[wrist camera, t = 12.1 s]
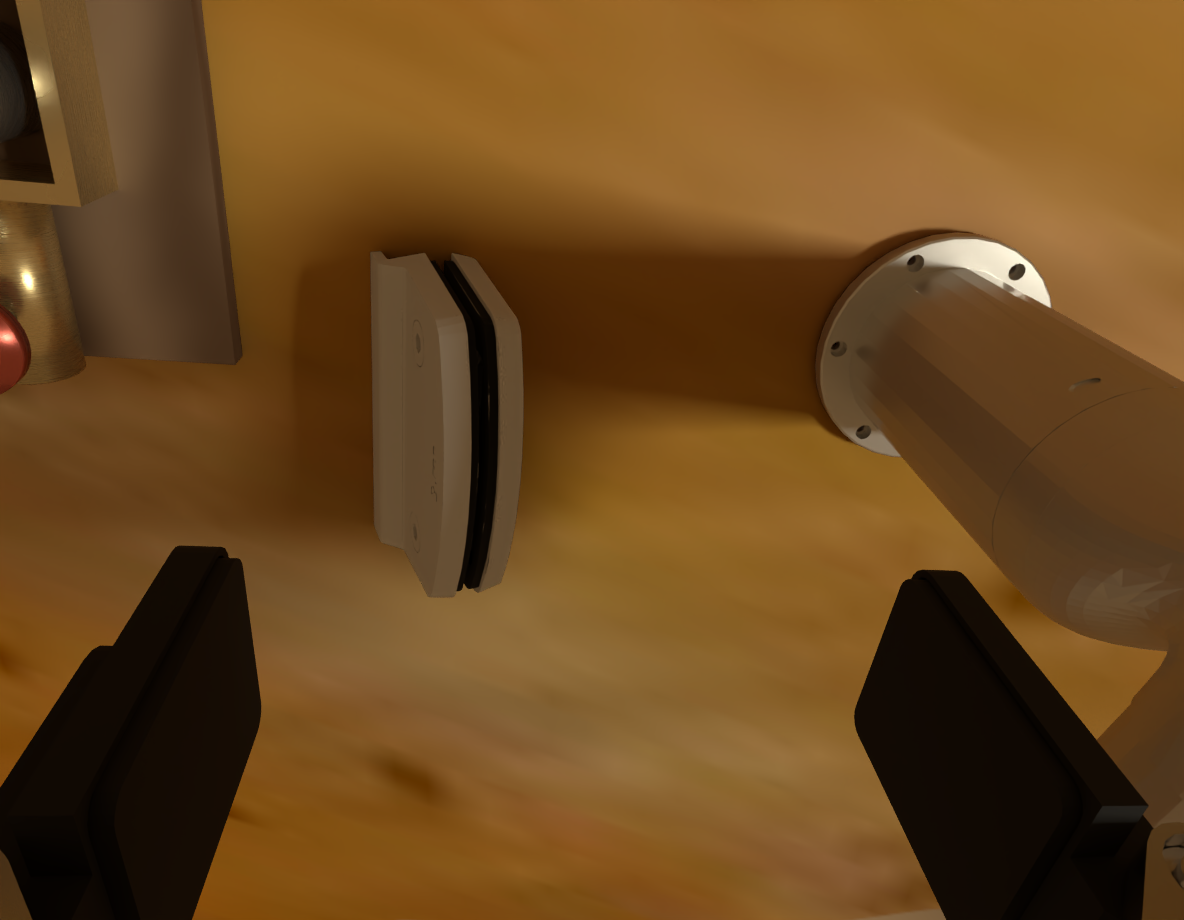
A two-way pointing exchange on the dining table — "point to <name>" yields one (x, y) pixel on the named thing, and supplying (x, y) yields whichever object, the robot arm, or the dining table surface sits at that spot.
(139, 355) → the base board
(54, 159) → the square socket board
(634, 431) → the dining table surface
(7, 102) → the beige cylindrical canister
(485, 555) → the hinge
